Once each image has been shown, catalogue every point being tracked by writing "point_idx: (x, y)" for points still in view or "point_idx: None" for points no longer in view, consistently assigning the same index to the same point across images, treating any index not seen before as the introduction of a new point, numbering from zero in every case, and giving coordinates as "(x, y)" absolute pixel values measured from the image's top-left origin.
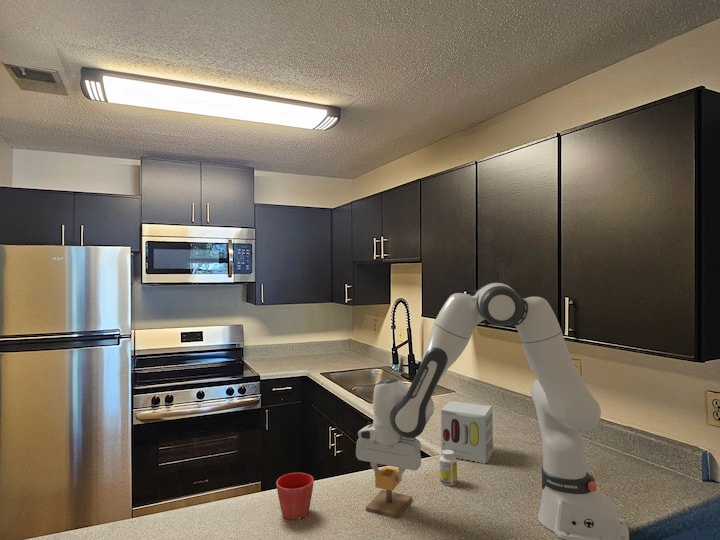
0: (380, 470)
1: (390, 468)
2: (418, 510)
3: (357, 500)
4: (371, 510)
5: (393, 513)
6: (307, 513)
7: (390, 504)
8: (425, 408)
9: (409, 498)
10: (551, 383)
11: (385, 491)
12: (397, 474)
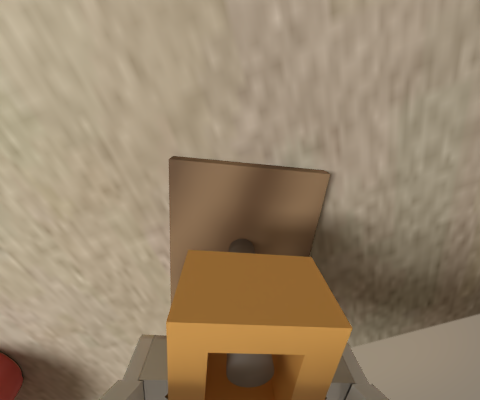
0: (165, 387)
1: (242, 338)
2: (357, 241)
3: (106, 250)
4: None
5: None
6: (17, 374)
7: None
8: None
9: (322, 198)
10: None
11: (192, 170)
12: (331, 396)
